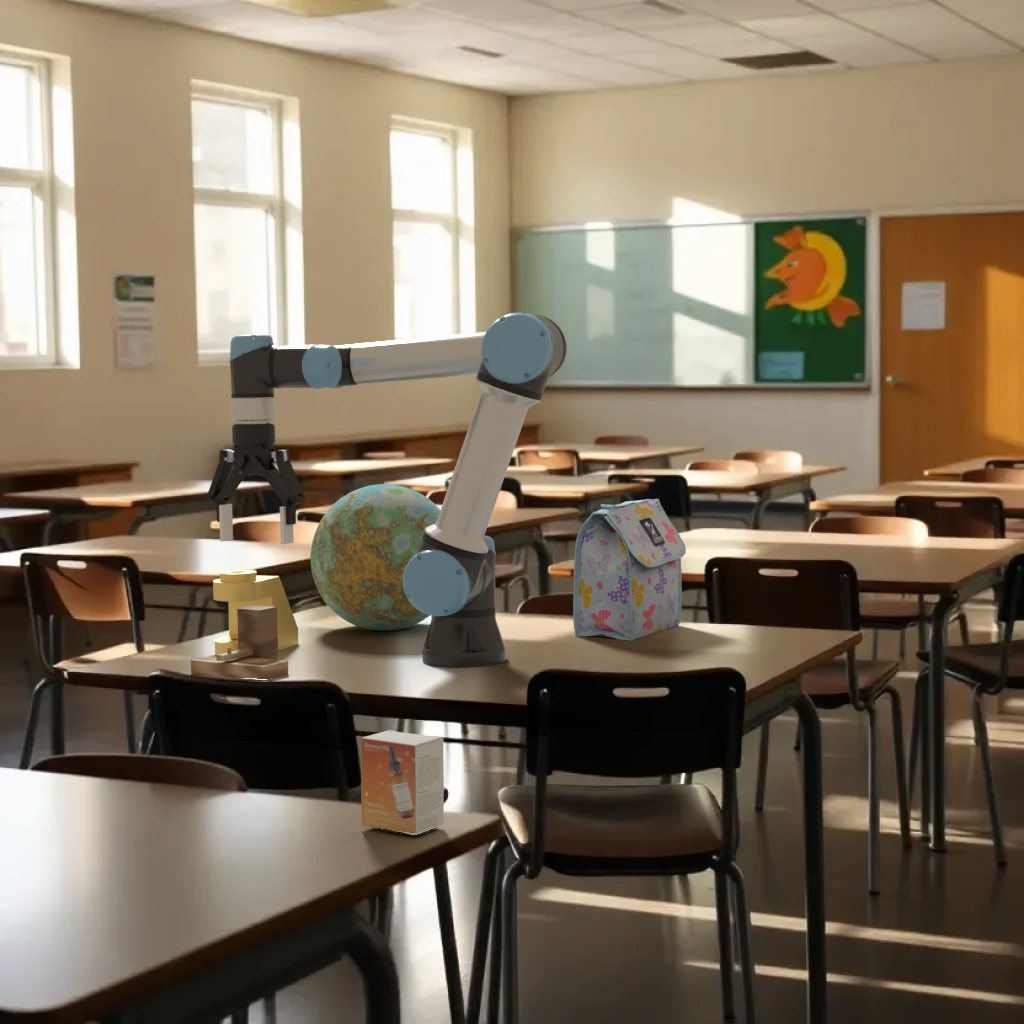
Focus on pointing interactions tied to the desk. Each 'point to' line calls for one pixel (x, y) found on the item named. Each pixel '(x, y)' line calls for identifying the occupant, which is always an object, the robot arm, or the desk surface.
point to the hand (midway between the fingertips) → (256, 542)
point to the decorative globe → (371, 555)
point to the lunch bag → (627, 572)
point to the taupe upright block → (255, 634)
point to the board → (240, 667)
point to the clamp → (251, 591)
